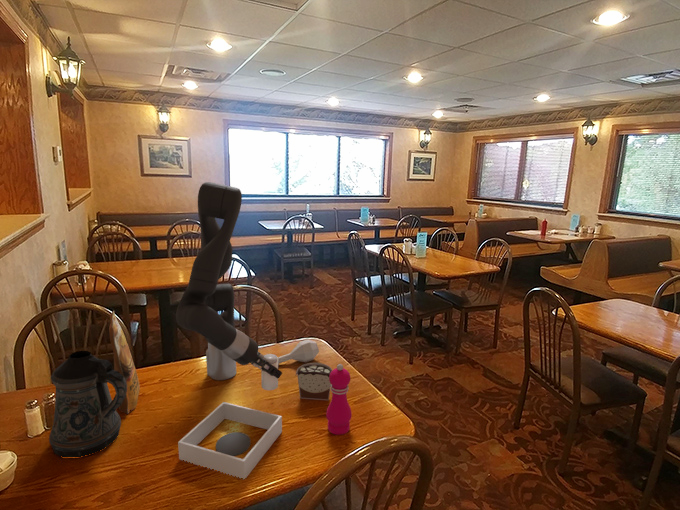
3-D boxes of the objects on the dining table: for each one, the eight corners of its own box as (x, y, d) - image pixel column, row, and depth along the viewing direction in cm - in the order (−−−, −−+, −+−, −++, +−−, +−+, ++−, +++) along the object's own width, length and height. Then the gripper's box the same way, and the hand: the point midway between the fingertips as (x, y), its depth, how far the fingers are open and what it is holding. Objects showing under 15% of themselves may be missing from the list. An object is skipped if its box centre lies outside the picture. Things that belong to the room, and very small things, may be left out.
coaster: (208, 451, 107) (208, 449, 107) (228, 431, 115) (228, 429, 115) (238, 460, 104) (238, 458, 104) (256, 438, 113) (256, 436, 112)
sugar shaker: (258, 388, 124) (258, 359, 122) (266, 380, 129) (266, 352, 127) (273, 391, 123) (272, 362, 120) (281, 383, 127) (280, 355, 125)
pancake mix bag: (110, 419, 119) (100, 330, 113) (119, 386, 137) (111, 307, 131) (136, 415, 122) (127, 327, 116) (142, 383, 139) (134, 305, 133)
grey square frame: (179, 459, 104) (178, 442, 103) (224, 416, 122) (223, 401, 121) (244, 479, 98) (244, 461, 97) (281, 431, 116) (281, 416, 115)
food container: (335, 390, 137) (336, 363, 135) (333, 400, 131) (333, 372, 129) (299, 387, 138) (299, 360, 136) (295, 397, 132) (295, 369, 130)
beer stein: (58, 428, 115) (46, 345, 110) (135, 413, 123) (127, 335, 117) (43, 467, 100) (28, 374, 95) (131, 447, 108) (122, 360, 103)
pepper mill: (354, 423, 120) (356, 360, 116) (346, 438, 113) (348, 372, 109) (331, 418, 122) (332, 356, 118) (322, 432, 116) (323, 367, 111)
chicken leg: (270, 361, 159) (267, 347, 153) (313, 346, 164) (312, 332, 159) (276, 378, 153) (273, 364, 147) (321, 362, 158) (320, 348, 153)
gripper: (258, 344, 111) (295, 370, 122) (235, 326, 122) (270, 352, 132) (241, 367, 109) (280, 392, 120) (218, 348, 120) (256, 372, 130)
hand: (274, 371), depth 126 cm, fingers closed on sugar shaker, 5 cm apart
